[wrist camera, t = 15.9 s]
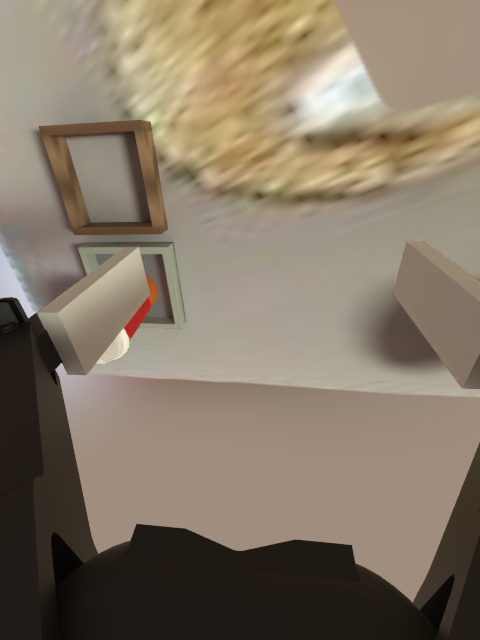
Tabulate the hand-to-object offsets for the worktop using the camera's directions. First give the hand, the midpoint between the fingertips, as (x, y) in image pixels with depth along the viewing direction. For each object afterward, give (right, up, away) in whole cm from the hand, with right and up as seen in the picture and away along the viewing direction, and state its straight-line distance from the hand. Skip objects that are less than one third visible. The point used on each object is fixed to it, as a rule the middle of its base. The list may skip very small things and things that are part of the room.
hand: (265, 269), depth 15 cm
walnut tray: (-19, +17, +25) cm, 35 cm away
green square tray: (-18, +3, +33) cm, 38 cm away
